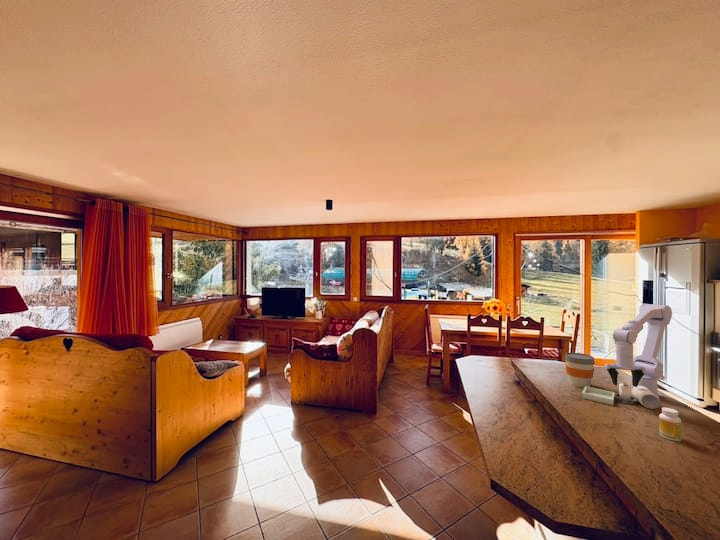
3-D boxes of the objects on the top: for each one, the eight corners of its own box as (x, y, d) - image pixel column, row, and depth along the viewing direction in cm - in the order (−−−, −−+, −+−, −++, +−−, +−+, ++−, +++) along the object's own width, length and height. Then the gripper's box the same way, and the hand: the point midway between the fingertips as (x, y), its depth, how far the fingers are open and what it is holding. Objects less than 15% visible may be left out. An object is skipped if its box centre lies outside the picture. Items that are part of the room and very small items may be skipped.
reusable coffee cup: (592, 382, 153) (592, 354, 153) (596, 391, 142) (596, 360, 142) (564, 378, 160) (563, 351, 160) (565, 385, 149) (565, 356, 149)
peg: (619, 397, 135) (619, 381, 135) (631, 400, 132) (631, 383, 132) (618, 400, 132) (618, 383, 132) (630, 403, 129) (630, 385, 129)
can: (664, 408, 122) (651, 397, 133) (656, 392, 123) (644, 383, 134) (644, 410, 125) (633, 399, 135) (637, 395, 126) (627, 385, 136)
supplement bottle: (678, 443, 99) (677, 415, 99) (656, 435, 104) (656, 408, 104) (684, 438, 102) (683, 411, 102) (662, 431, 107) (662, 405, 107)
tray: (585, 391, 143) (585, 386, 143) (615, 397, 135) (614, 392, 135) (581, 398, 135) (581, 392, 135) (613, 405, 127) (613, 400, 127)
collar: (613, 394, 138) (613, 391, 138) (638, 400, 132) (637, 396, 132) (612, 400, 132) (612, 397, 132) (637, 406, 126) (637, 402, 126)
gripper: (610, 357, 130) (611, 387, 130) (650, 359, 126) (650, 390, 126) (602, 352, 137) (602, 381, 137) (639, 355, 133) (639, 384, 133)
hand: (624, 385), depth 132 cm, fingers open, 7 cm apart
